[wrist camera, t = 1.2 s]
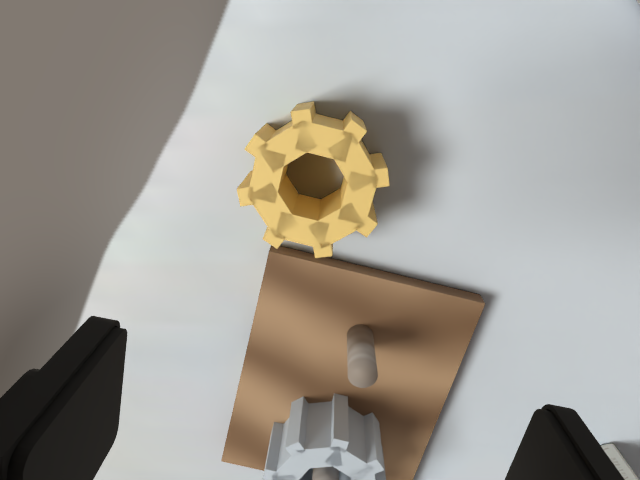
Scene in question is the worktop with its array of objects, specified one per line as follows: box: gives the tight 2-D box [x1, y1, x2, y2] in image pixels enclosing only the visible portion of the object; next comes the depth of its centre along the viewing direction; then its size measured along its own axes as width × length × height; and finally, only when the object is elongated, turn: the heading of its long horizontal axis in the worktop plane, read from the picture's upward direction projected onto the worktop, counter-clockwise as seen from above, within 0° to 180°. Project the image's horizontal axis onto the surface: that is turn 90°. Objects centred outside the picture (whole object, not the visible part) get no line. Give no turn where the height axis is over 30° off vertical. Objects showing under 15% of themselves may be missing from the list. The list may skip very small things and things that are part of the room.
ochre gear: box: [237, 101, 389, 258], centre depth 26 cm, size 7×7×4 cm
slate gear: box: [263, 393, 386, 480], centre depth 31 cm, size 7×7×4 cm
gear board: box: [221, 245, 485, 480], centre depth 30 cm, size 16×13×7 cm
